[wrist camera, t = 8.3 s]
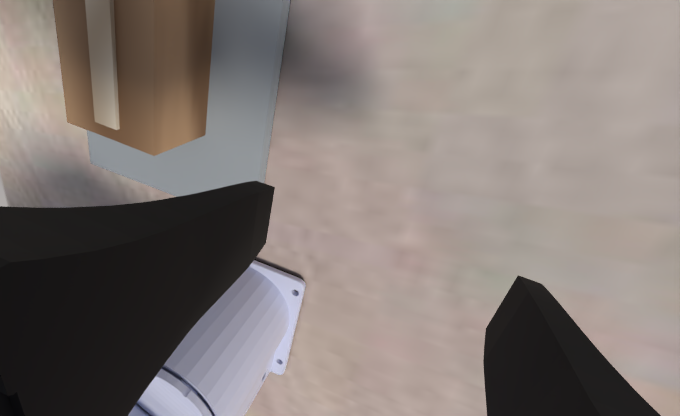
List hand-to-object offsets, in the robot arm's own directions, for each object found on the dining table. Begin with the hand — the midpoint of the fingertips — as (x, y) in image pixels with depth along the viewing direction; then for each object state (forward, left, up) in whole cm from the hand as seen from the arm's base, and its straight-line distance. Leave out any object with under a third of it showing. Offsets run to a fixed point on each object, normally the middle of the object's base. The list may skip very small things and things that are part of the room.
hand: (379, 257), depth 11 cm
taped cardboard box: (+2, +14, -9) cm, 17 cm away
